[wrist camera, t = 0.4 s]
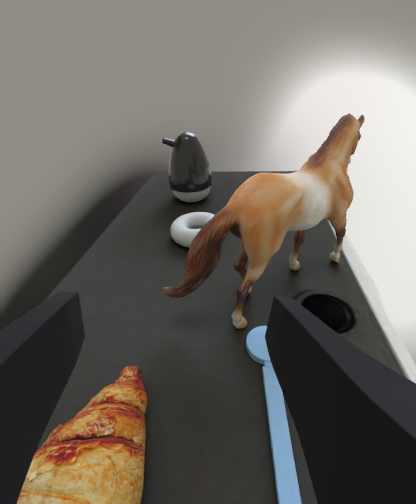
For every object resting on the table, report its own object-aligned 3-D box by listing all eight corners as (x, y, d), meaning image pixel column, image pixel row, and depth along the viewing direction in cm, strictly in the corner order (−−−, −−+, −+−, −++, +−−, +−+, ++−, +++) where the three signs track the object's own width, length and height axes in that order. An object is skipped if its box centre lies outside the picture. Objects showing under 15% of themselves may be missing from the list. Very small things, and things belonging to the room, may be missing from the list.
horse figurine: (322, 238, 48) (351, 109, 36) (364, 258, 42) (415, 115, 31) (169, 320, 34) (133, 159, 23) (201, 365, 29) (177, 184, 17)
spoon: (327, 536, 18) (330, 533, 18) (259, 531, 19) (259, 528, 18) (283, 331, 32) (284, 325, 32) (244, 330, 32) (245, 325, 32)
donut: (160, 242, 50) (203, 257, 45) (157, 226, 48) (201, 240, 43) (193, 220, 57) (233, 231, 52) (191, 205, 55) (233, 215, 50)
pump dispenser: (169, 192, 69) (160, 129, 61) (208, 187, 71) (204, 125, 62) (172, 209, 61) (162, 139, 52) (216, 203, 62) (213, 134, 54)
